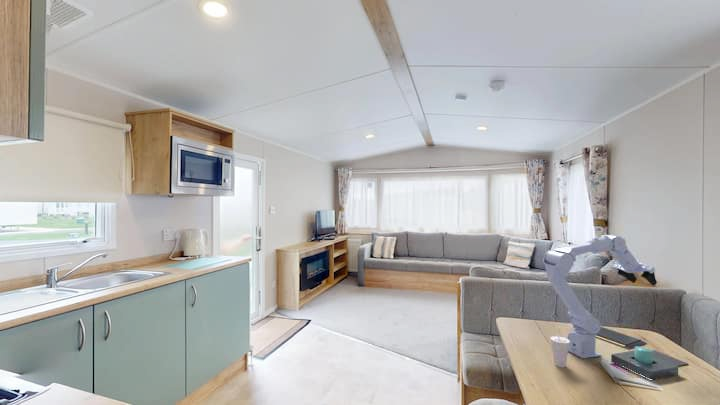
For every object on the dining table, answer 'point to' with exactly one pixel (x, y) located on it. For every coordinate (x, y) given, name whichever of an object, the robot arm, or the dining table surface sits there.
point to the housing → (650, 371)
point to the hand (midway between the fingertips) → (644, 282)
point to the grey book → (619, 339)
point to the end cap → (644, 355)
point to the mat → (668, 359)
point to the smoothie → (560, 350)
